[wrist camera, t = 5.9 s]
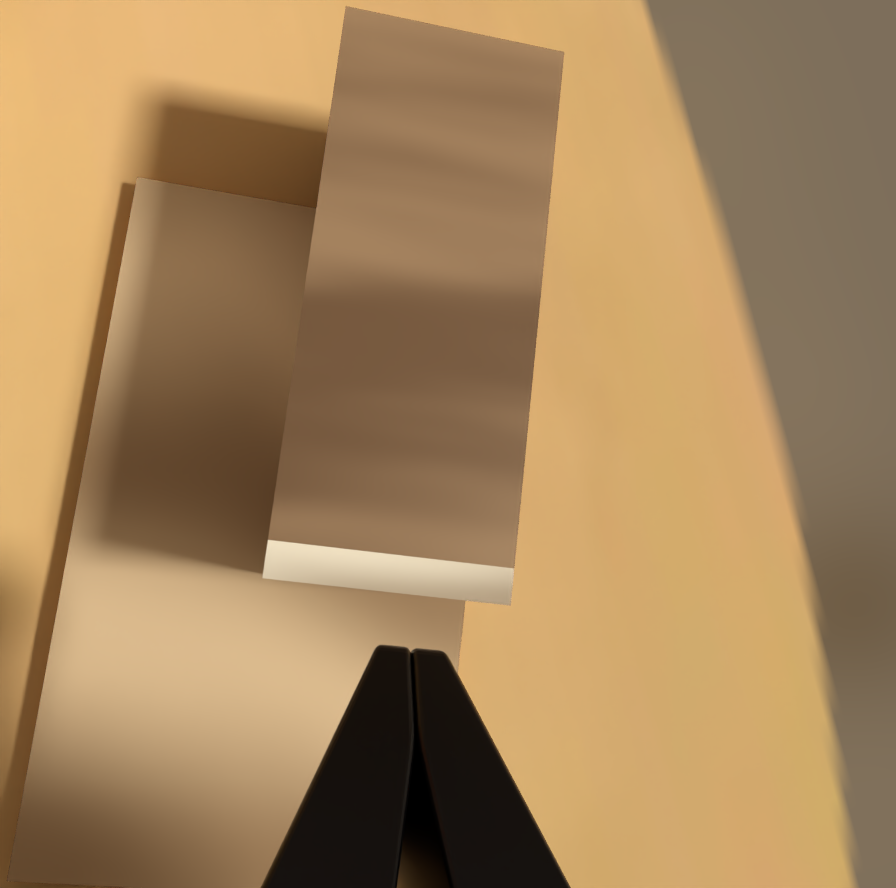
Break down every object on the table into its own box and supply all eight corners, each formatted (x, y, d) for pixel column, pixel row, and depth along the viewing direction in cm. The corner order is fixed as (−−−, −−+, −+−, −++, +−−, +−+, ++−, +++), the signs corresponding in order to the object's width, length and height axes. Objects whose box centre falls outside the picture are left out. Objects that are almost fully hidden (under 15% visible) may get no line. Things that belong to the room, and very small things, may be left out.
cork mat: (430, 896, 17) (432, 904, 16) (14, 873, 16) (6, 881, 15) (499, 247, 19) (503, 240, 19) (141, 185, 18) (136, 176, 18)
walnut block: (511, 605, 14) (564, 52, 15) (262, 578, 13) (345, 6, 15) (466, 597, 17) (512, 157, 19) (273, 575, 17) (338, 124, 19)
